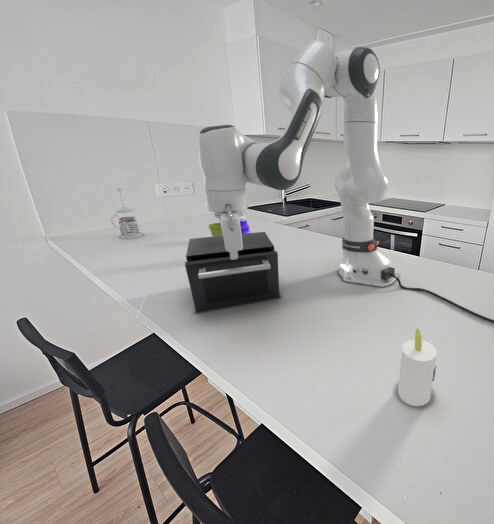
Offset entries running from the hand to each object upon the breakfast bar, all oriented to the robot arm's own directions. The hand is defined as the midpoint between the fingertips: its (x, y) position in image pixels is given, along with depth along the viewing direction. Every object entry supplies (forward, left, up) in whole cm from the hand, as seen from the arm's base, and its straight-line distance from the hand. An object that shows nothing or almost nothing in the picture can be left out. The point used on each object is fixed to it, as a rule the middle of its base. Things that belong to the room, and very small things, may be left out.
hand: (234, 257), depth 73 cm
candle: (-48, 0, -20) cm, 52 cm away
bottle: (+42, -40, -20) cm, 61 cm away
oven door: (+9, -7, -20) cm, 23 cm away
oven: (+18, -14, -20) cm, 30 cm away
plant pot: (+70, -49, -20) cm, 88 cm away
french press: (+118, -30, -20) cm, 123 cm away
